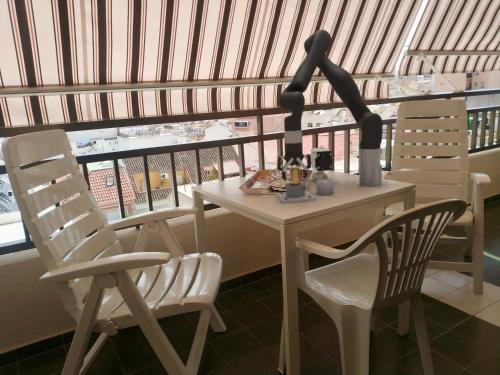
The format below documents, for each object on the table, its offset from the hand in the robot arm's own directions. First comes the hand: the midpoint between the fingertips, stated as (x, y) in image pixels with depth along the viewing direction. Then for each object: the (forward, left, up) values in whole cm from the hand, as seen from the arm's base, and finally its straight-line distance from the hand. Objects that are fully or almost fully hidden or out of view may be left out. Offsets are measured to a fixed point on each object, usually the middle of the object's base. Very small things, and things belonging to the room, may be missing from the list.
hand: (294, 179), depth 161 cm
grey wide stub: (-14, -3, -8) cm, 16 cm away
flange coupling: (0, 0, -8) cm, 8 cm away
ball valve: (-19, -28, -8) cm, 35 cm away
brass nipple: (0, 0, -7) cm, 7 cm away
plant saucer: (0, -19, -9) cm, 21 cm away
